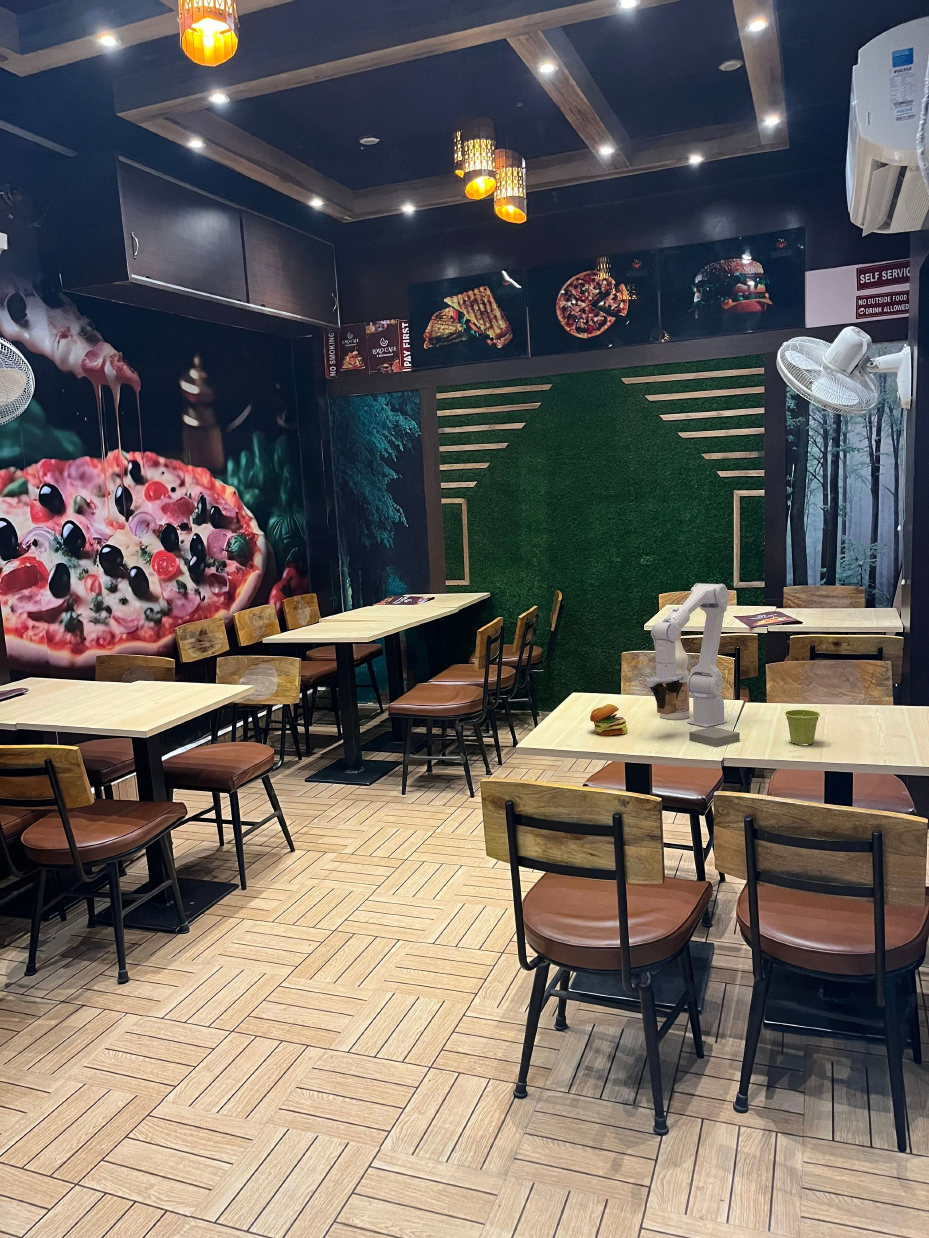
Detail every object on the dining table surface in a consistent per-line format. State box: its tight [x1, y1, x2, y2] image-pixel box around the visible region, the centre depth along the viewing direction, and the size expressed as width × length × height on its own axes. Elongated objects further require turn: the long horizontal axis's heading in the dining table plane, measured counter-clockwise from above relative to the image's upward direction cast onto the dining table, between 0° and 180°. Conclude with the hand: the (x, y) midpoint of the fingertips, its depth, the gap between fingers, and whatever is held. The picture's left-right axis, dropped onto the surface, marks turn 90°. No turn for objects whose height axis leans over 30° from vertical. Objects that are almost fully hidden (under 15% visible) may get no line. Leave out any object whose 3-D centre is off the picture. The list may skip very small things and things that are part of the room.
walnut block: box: [656, 691, 676, 715], centre depth 268 cm, size 4×4×6 cm
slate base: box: [688, 726, 741, 748], centre depth 261 cm, size 10×10×3 cm
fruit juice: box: [659, 631, 690, 721], centre depth 291 cm, size 9×9×28 cm
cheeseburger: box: [589, 703, 629, 737], centre depth 275 cm, size 10×11×10 cm
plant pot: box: [784, 709, 821, 745], centre depth 254 cm, size 9×9×9 cm
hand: (666, 707), depth 268 cm, fingers closed on walnut block, 4 cm apart
